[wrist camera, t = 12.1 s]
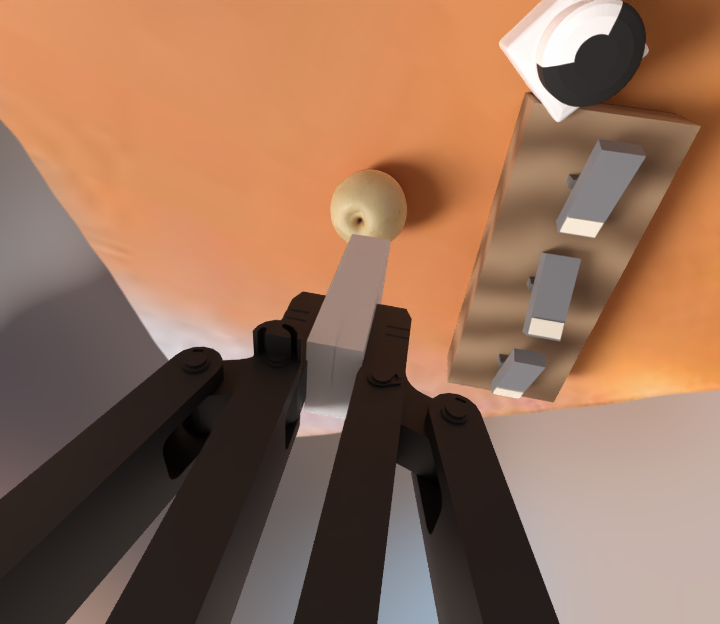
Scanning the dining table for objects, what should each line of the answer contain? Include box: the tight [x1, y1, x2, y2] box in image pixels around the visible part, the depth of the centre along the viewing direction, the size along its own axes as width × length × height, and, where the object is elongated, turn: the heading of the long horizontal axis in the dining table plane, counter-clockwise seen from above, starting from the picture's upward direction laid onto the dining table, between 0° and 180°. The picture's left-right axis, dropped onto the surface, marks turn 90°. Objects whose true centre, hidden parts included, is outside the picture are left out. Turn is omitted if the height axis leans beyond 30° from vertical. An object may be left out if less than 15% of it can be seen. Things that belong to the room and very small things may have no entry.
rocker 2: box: [522, 253, 581, 341], centre depth 42 cm, size 8×3×2 cm, turn 175°
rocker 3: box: [556, 139, 646, 238], centre depth 36 cm, size 8×3×2 cm, turn 173°
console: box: [448, 93, 701, 402], centre depth 45 cm, size 32×13×6 cm, turn 174°
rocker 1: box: [492, 348, 546, 399], centre depth 48 cm, size 8×3×2 cm, turn 173°
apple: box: [330, 169, 407, 243], centre depth 45 cm, size 8×8×8 cm
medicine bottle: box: [499, 0, 649, 122], centre depth 32 cm, size 7×7×12 cm
